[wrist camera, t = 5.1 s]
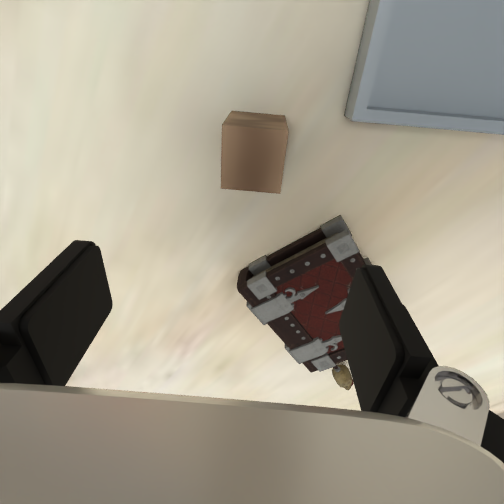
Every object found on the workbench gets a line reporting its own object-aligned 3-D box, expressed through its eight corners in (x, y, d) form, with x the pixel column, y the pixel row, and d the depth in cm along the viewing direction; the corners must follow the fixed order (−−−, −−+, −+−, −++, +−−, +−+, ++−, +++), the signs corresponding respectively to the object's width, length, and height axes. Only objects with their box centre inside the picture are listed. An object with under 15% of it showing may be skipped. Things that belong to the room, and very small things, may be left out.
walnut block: (284, 115, 29) (288, 130, 23) (278, 167, 31) (280, 193, 25) (231, 110, 29) (222, 124, 23) (230, 163, 31) (220, 188, 25)
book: (342, 212, 34) (352, 234, 30) (416, 341, 45) (431, 371, 40) (236, 269, 39) (232, 295, 35) (325, 373, 50) (331, 403, 45)
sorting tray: (686, -82, 21) (744, -101, 18) (557, 134, 28) (586, 141, 26) (393, -108, 21) (411, -131, 18) (344, 115, 28) (351, 120, 26)
